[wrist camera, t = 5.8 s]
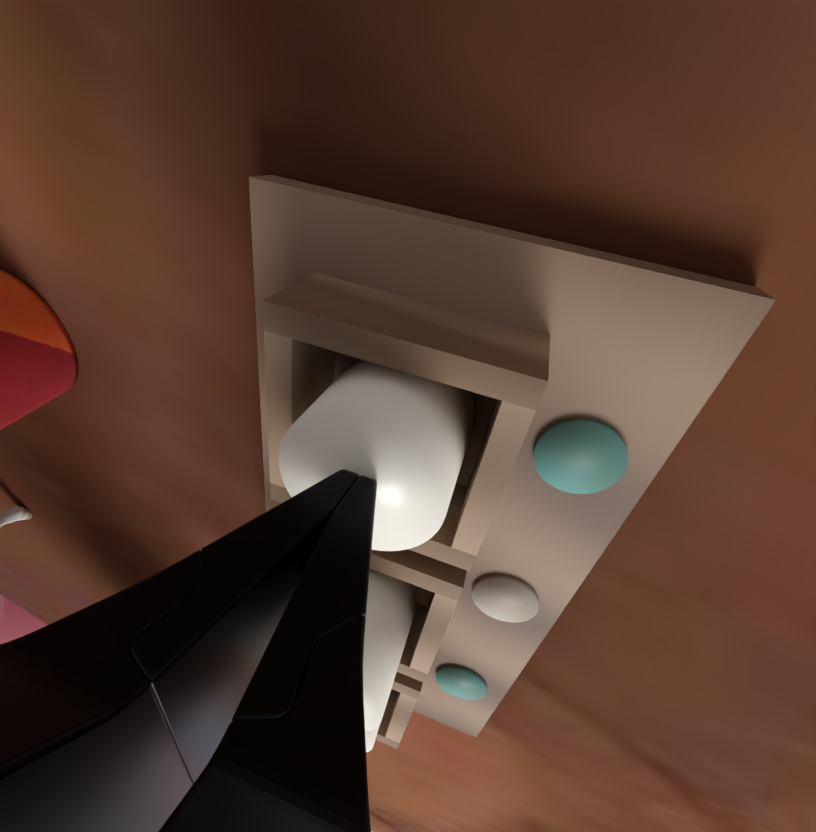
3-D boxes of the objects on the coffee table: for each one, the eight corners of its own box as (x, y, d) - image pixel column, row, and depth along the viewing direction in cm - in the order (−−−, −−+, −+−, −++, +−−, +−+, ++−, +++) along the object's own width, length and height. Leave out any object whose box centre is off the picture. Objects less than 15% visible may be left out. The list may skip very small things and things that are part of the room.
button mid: (407, 636, 16) (373, 746, 13) (311, 598, 16) (257, 695, 13) (426, 574, 14) (391, 690, 11) (314, 532, 14) (251, 632, 11)
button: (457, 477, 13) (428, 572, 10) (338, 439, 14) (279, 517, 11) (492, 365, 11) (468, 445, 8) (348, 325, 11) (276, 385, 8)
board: (478, 716, 23) (467, 796, 20) (282, 635, 25) (246, 697, 22) (757, 286, 9) (845, 347, 6) (271, 174, 11) (172, 183, 8)
